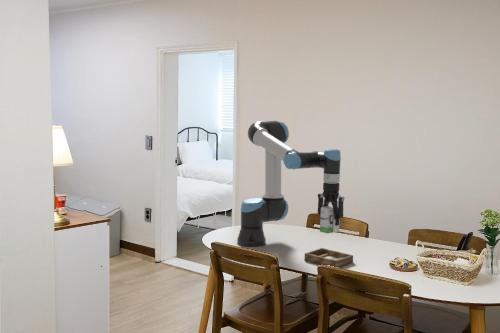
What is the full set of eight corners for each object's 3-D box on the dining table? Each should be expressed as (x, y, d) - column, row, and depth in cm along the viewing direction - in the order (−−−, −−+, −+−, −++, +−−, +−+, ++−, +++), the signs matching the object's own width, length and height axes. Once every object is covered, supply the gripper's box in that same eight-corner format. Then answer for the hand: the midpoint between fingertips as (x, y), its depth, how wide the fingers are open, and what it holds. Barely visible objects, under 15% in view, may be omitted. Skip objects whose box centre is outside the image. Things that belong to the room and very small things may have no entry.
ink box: (326, 233, 244) (327, 208, 242) (319, 231, 248) (320, 207, 246) (339, 231, 249) (340, 206, 248) (332, 229, 253) (332, 205, 251)
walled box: (304, 260, 251) (304, 253, 251) (321, 254, 261) (321, 247, 261) (336, 268, 239) (336, 261, 238) (352, 262, 249) (353, 255, 249)
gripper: (310, 180, 249) (309, 228, 252) (343, 185, 237) (341, 235, 239) (319, 179, 255) (318, 226, 257) (352, 183, 242) (350, 233, 245)
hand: (329, 230), depth 248 cm, fingers closed on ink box, 5 cm apart
